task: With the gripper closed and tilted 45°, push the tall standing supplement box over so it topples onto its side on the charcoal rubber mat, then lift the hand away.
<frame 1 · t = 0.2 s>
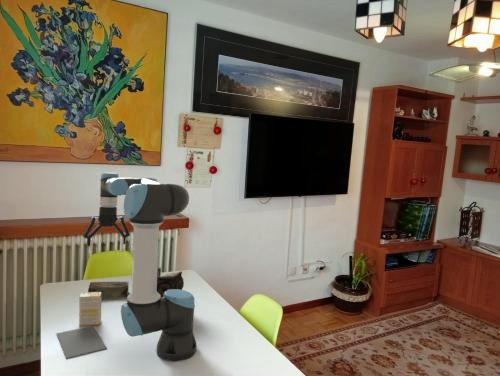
hand: (106, 252, 173), 27 cm above the table, tool pointing down, fingers open, 13 cm apart
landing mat: (81, 341, 147), on the table
coffee box: (150, 300, 188), on the table
beverage carton: (108, 296, 191), on the table
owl: (166, 312, 177), on the table
supplement box: (90, 323, 161), on the table
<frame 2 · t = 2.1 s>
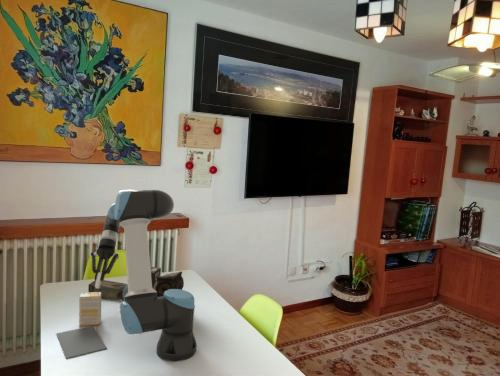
hand: (97, 287, 170), 12 cm above the table, tool tilted 45°, fingers closed
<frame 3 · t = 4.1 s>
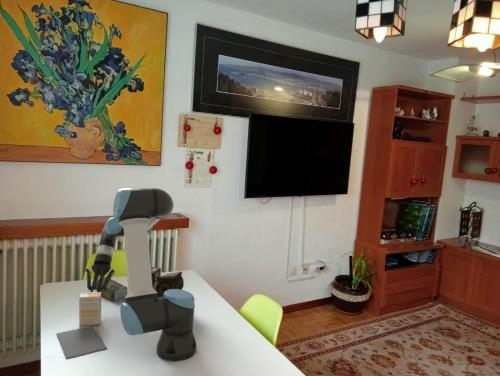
hand: (92, 305, 164), 7 cm above the table, tool tilted 45°, fingers closed
supplement box: (90, 323, 161), on the table, touching gripper
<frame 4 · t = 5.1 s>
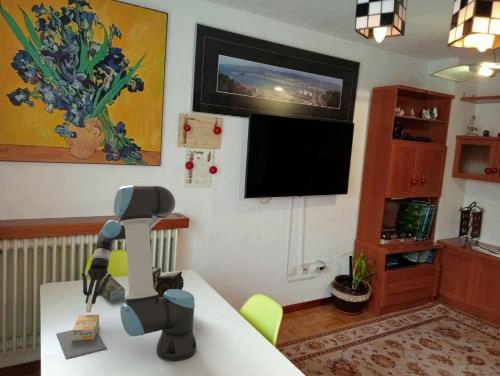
hand: (88, 311, 158), 7 cm above the table, tool tilted 45°, fingers closed
supplement box: (89, 319, 159), point 3 cm above the table, touching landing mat
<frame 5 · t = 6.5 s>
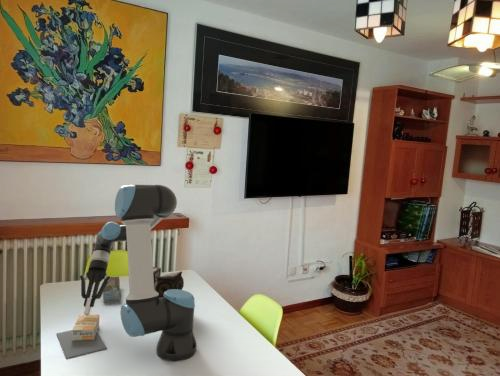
hand: (86, 314, 155), 7 cm above the table, tool tilted 45°, fingers closed
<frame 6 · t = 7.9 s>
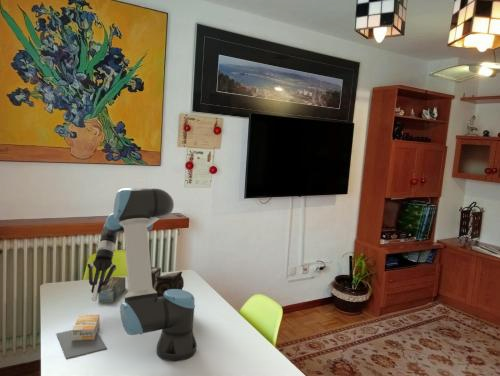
hand: (94, 299, 165), 8 cm above the table, tool tilted 45°, fingers closed
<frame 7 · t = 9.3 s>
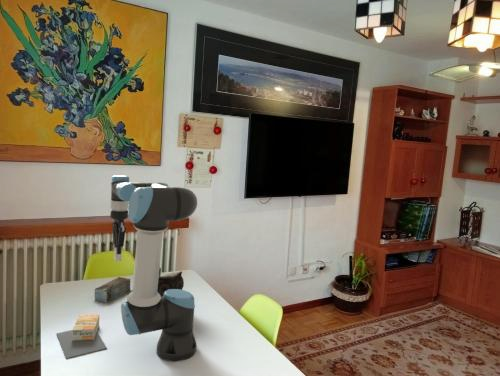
hand: (117, 260, 172), 24 cm above the table, tool pointing down, fingers closed
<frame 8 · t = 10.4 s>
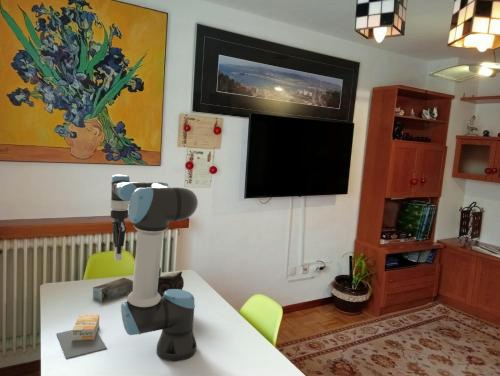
hand: (117, 259, 172), 24 cm above the table, tool pointing down, fingers closed
at the end: supplement box tilted 90°; supplement box touching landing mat; supplement box inside the target area (9.2 cm from its centre), point 2.8 cm above the table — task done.
